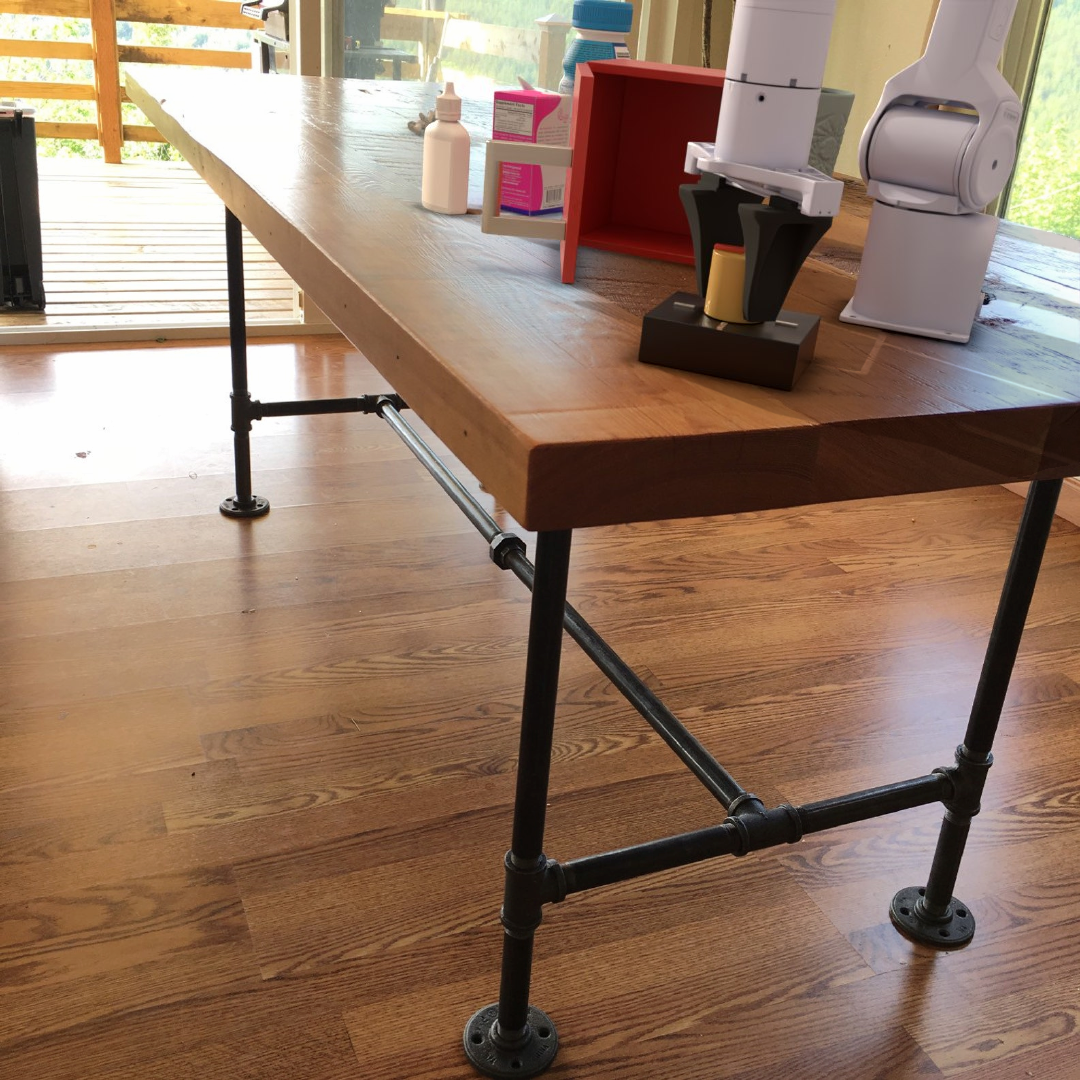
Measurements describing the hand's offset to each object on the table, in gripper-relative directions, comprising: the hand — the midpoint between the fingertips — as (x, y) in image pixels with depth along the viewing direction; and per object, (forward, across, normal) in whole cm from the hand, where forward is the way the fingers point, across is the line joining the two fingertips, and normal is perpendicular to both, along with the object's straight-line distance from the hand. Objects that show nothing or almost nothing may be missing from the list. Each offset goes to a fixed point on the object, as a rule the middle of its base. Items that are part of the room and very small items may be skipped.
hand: (735, 308), depth 73 cm
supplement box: (+4, -50, +6) cm, 50 cm away
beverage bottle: (+4, -65, +20) cm, 68 cm away
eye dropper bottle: (+4, -49, -4) cm, 49 cm away
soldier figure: (+4, -108, +14) cm, 108 cm away
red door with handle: (+3, -28, -3) cm, 28 cm away
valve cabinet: (+3, -32, +12) cm, 34 cm away
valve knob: (0, 0, 0) cm, 0 cm away
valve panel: (+3, 0, 0) cm, 3 cm away
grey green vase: (+4, -69, +53) cm, 87 cm away
